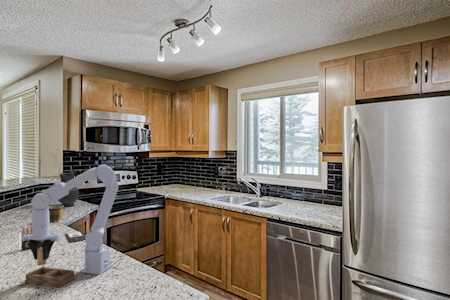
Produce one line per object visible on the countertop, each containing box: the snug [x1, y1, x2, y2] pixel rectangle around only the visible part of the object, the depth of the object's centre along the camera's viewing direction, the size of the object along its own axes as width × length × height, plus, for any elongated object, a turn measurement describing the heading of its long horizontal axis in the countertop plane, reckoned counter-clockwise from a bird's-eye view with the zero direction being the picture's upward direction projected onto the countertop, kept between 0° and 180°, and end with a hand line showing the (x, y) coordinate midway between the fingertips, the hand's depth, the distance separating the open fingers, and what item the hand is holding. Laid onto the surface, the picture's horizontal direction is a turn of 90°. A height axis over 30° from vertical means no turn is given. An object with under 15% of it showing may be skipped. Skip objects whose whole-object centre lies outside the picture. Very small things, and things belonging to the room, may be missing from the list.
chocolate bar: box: [65, 230, 86, 244], centre depth 169 cm, size 9×1×18 cm
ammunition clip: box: [21, 224, 45, 252], centre depth 151 cm, size 11×2×12 cm, turn 130°
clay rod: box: [36, 247, 47, 266], centre depth 116 cm, size 3×3×6 cm
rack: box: [24, 266, 76, 288], centre depth 115 cm, size 16×8×3 cm, turn 75°
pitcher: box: [57, 170, 80, 208], centre depth 256 cm, size 17×21×30 cm
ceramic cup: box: [49, 205, 65, 224], centre depth 204 cm, size 13×10×10 cm
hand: (41, 258), depth 116 cm, fingers closed on clay rod, 3 cm apart
